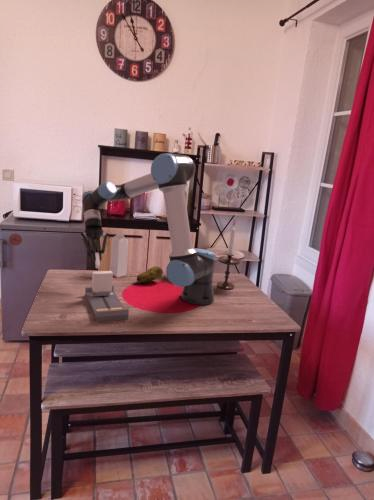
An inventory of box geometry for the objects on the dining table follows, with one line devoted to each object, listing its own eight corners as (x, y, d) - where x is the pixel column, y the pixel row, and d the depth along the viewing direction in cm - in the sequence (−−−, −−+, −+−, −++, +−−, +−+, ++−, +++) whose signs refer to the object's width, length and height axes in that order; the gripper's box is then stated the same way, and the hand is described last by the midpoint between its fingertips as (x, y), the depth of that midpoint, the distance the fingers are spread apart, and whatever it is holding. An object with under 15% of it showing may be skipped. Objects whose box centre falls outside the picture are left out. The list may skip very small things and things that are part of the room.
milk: (116, 277, 186) (119, 234, 180) (109, 273, 190) (111, 232, 184) (126, 275, 190) (129, 233, 185) (119, 271, 194) (121, 231, 188)
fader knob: (91, 291, 158) (91, 270, 156) (109, 290, 162) (110, 270, 159) (93, 296, 154) (94, 274, 151) (112, 295, 157) (113, 273, 155)
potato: (135, 278, 187) (137, 263, 185) (161, 279, 189) (162, 265, 187) (136, 284, 179) (137, 269, 177) (162, 285, 181) (164, 270, 179)
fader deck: (85, 295, 160) (85, 286, 159) (112, 293, 165) (113, 285, 164) (96, 322, 138) (97, 312, 136) (128, 319, 143) (128, 309, 142)
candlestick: (234, 292, 183) (244, 222, 174) (212, 287, 185) (221, 219, 176) (237, 285, 193) (247, 219, 184) (217, 281, 196) (225, 216, 187)
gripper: (105, 226, 178) (111, 270, 168) (77, 225, 173) (81, 271, 162) (108, 217, 172) (114, 262, 162) (79, 216, 167) (83, 263, 156)
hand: (97, 266), depth 162 cm, fingers closed
